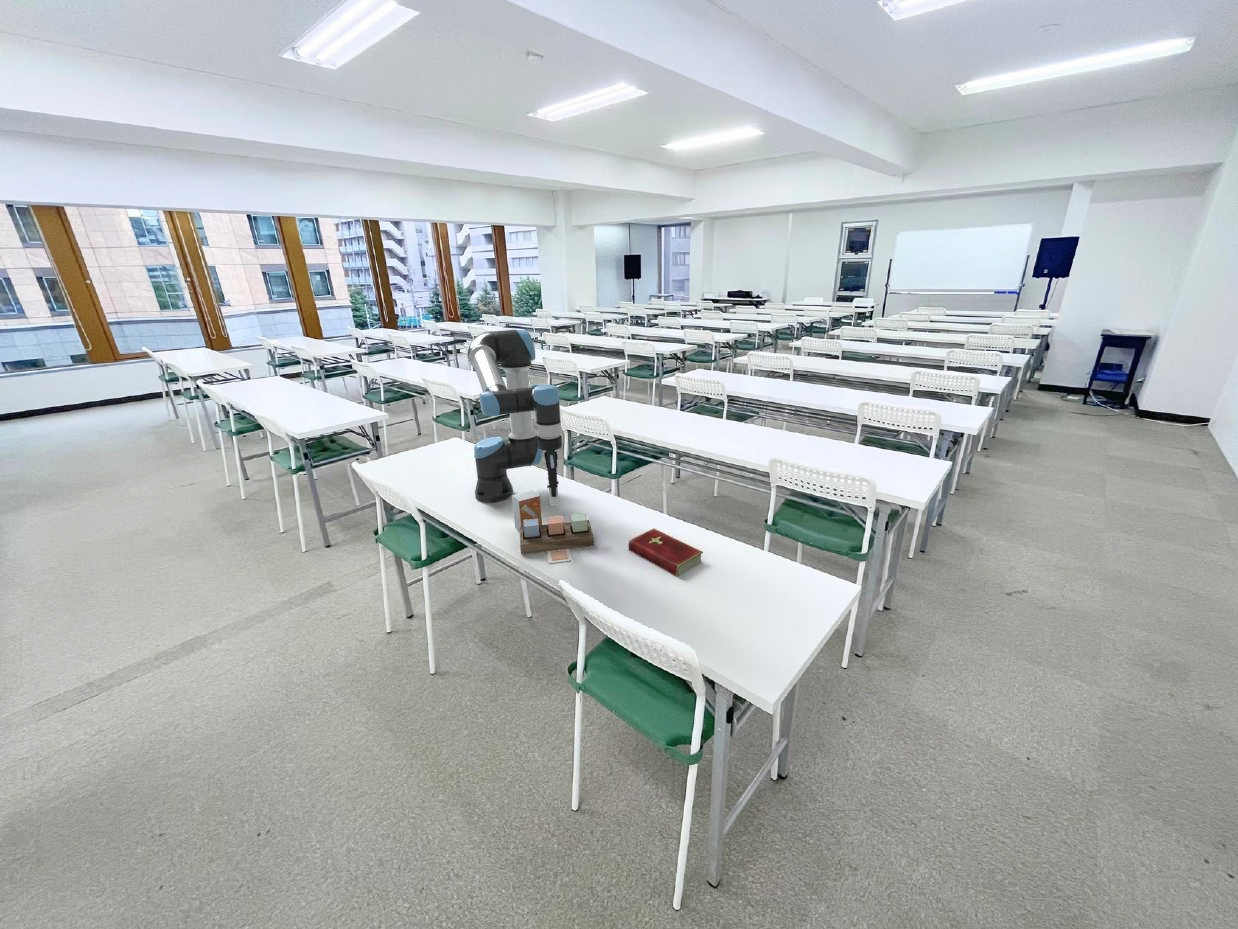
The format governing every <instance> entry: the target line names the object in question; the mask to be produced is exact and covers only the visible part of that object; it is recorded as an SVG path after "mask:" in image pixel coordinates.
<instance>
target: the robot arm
mask: <svg viewBox="0 0 1238 929" xmlns="http://www.w3.org/2000/svg"><path fill="white" fill-rule="evenodd" d="M535 348H536V347H535V344H534V340H533V338H532V336H531V334H530V332H529V331H528V330H526V329H508V330H507V329H506V330H495V331H493V330H492V331H491V330H490V331H485V332H482V333H480V334H478V335H477V336H475V337H474V338H473V339H472V340H471V342H470V344H469V346H468V348H467V359H468V362H469V364H470V366H472V367H473V368H474V370H475V373H476V376H477V379H478V383H479V385H480V387H481V390H482V392H480V394H479V404H480V410H481V413H482V415H483V416H485V417H487V416H489V417H490V416H494V417H497V416H502V415H509V420H510V421H509V422H510V428H511V429H510V430H511V431H510V432H509V433H508V434H507V438H508V439H506V440H505V439H504V438H503V437H501V436H491V437H486V438H483V439H481V440H479V441H478V442H476V443H475V445H474V446H473V447H474V448H473V451H474V455H473V456H474V457H473V458H474V460H475V468H476V475H477V476H476V478H477V481H476V485H475V488H474V495H475V499H476V500H478V501H479V502H482V503H483V502H484V503H495V502H497V503H498V502H502V501H504V500H507V499H510V497H512V495H514V488H513V485H512V483H511V481H510V478H509V476H508V473H507V470H510V469H517V468H523V467H525V468H526V467H532V466H535V465H538V464H540V463H541V462H542V459H543V456H544V461H545V467H546V469H547V481H548V485H546V487H547V489H548V491H549V492H548V494H549V505H550V506H559V505H560V503H559V492H558V491H559V489H558V488H559V484H560V483H559V481H558V472H557V470H558V469H557V468H558V458H559V457H558V452H557V450H560V449H561V448H562V447H563V438H562V421H561V408H560V407H561V405H560V403H561V402H560V400H561V399H560V398H561V397H560V393H559V388H558V386H556V385H552V384H531V385H530V378H529V370H530V368H531V367H532V362H533V361H535V360H536V349H535ZM498 364H500V368H501V370H503V371H504V372H505V380H506V381H505V380H504V379H503V376H502V374H501V371H500V369H499V366H498ZM505 382H506V383H505ZM532 412H534V414H535V423H536V426H534V425H533V413H532ZM533 426H534V427H533ZM534 429H535V430H534Z"/></svg>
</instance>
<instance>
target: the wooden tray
mask: <svg viewBox="0 0 1238 929" xmlns="http://www.w3.org/2000/svg"><path fill="white" fill-rule="evenodd" d="M563 529H564V533H561V534H554V535H553V534H551V535H549V529H548V523H544V524H542V525H539V536H535V537H525V535H524V527H520V532H519V546H520V555H526V554H533V553H545V552H547V551H554V550H562V549H569V550H570V549H578V548H586V547H594V546H595V536H594V533H593V530H592V526H591V523H590V519H587V529H588V531H582V532H573V529H572V521H566V522H564V521H563Z"/></svg>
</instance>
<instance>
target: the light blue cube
mask: <svg viewBox="0 0 1238 929" xmlns="http://www.w3.org/2000/svg"><path fill="white" fill-rule="evenodd" d="M523 522H524V535H525V537H535V536H539V524H538V518H537V519H527V520H523Z"/></svg>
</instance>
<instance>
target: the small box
mask: <svg viewBox="0 0 1238 929" xmlns="http://www.w3.org/2000/svg"><path fill="white" fill-rule="evenodd" d="M511 500H512V508H513V510H512V512H513V520H514V528H515V529H516V531H518V532H519V533H520V527H524V522H523V520H527V519H537V518H538V524H539V525H543V520H542V518H543V516H542V507H541V506H542V505H541V495H539V494H538V493H537V492H536V491H535V490H533V489H532V490H531V489H530V490H528V491H523V492H519V493H516V494H512V496H511Z"/></svg>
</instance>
